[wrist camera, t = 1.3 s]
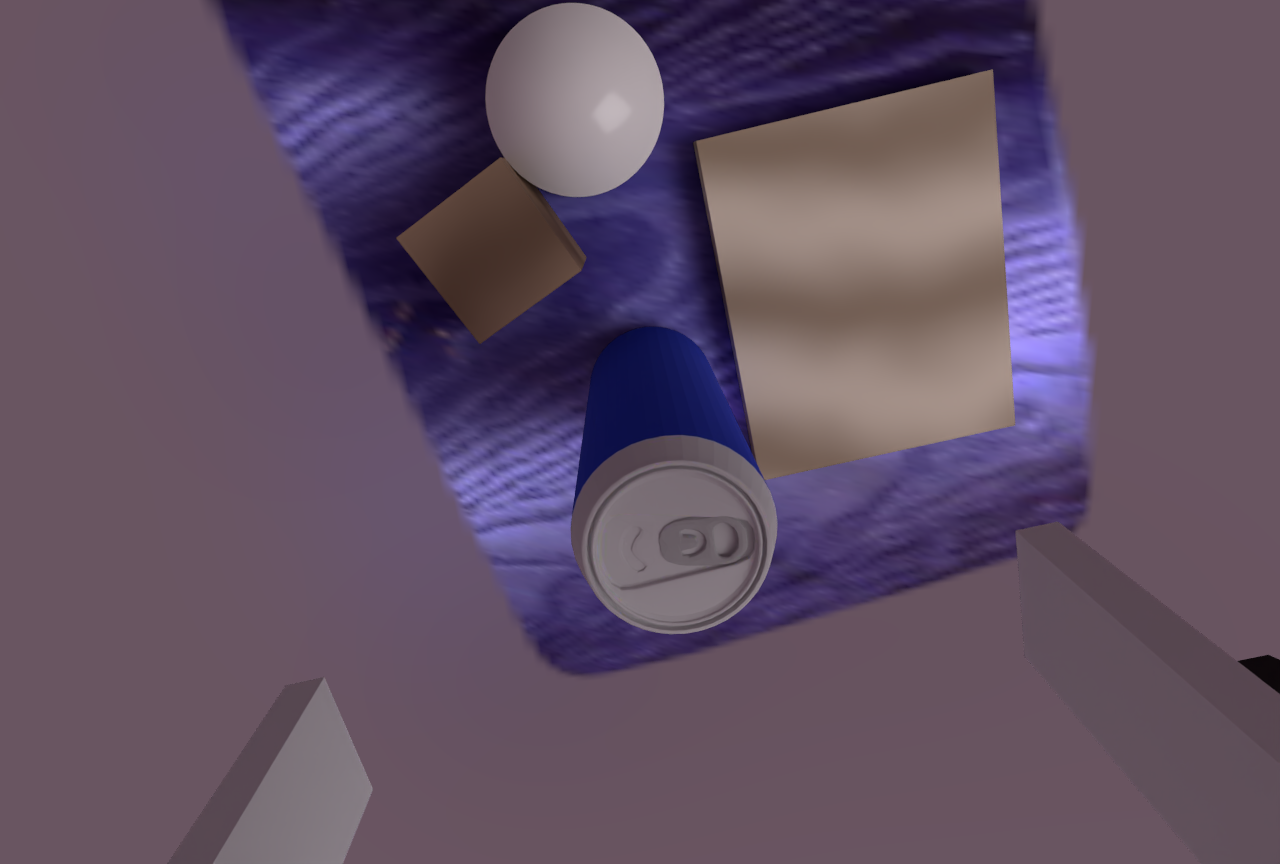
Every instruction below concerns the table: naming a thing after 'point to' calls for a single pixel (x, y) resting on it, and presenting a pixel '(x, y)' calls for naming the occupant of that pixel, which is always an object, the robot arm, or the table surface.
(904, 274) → the board
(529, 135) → the pale pink rounded block
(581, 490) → the beverage can
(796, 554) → the table surface
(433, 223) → the walnut block
